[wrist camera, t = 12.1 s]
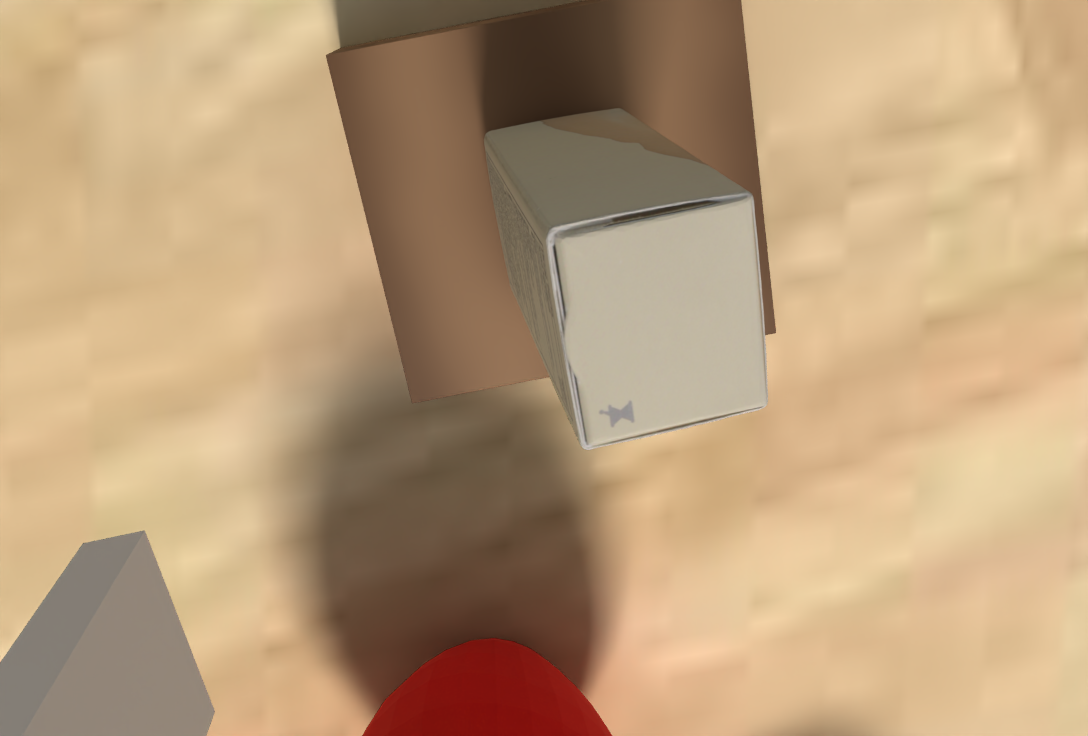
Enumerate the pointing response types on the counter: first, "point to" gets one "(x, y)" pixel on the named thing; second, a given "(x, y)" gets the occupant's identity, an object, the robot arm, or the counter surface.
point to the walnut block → (508, 100)
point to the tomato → (487, 697)
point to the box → (630, 274)
